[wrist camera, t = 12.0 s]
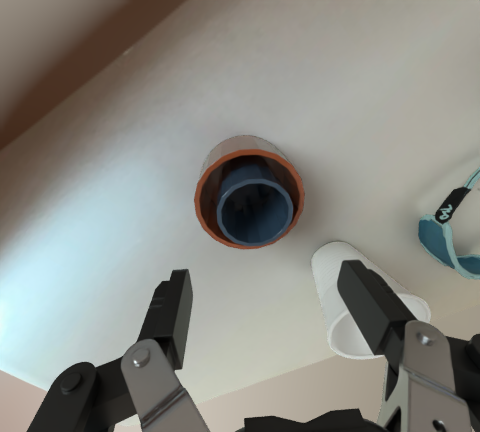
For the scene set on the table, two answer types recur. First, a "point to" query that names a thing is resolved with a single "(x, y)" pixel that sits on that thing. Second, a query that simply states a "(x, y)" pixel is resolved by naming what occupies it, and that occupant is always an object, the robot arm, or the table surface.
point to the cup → (334, 309)
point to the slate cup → (252, 202)
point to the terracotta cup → (211, 173)
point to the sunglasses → (449, 234)
